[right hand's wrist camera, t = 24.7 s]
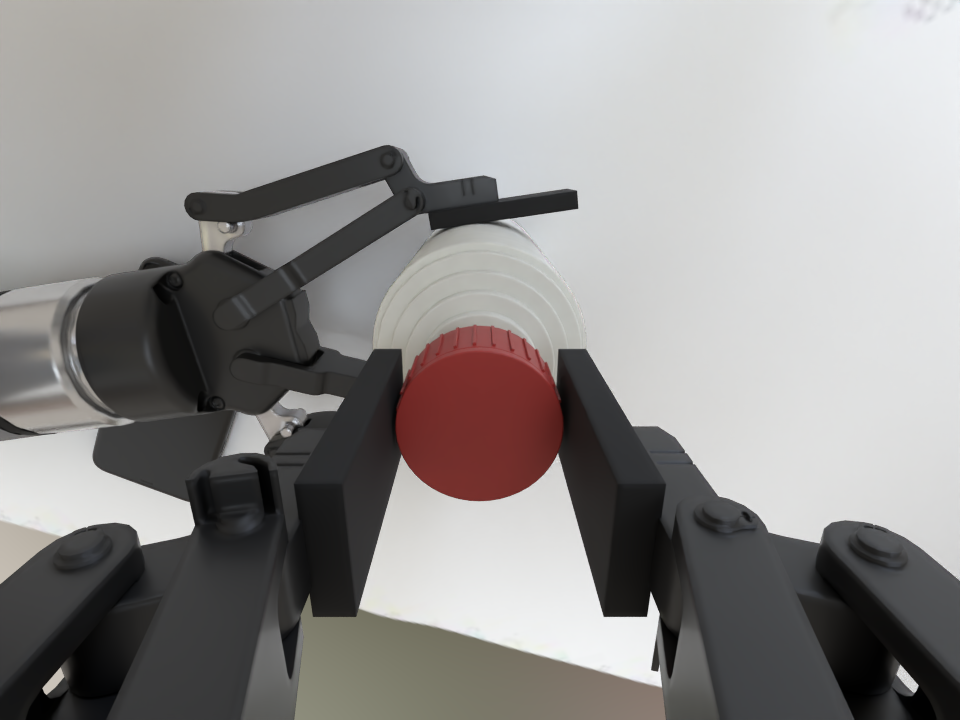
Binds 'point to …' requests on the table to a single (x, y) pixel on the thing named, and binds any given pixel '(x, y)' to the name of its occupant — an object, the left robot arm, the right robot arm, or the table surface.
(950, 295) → the table surface
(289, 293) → the left robot arm
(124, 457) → the smartphone
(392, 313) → the bottle
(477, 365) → the cap
